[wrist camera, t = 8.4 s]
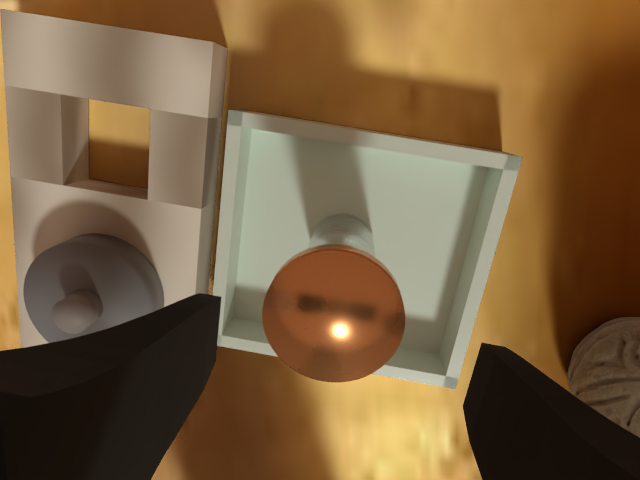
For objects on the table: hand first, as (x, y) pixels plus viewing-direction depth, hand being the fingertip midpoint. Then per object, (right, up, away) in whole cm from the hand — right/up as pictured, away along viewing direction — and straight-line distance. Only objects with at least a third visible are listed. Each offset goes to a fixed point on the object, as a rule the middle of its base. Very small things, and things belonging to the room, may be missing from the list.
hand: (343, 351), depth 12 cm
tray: (+1, +3, +10) cm, 10 cm away
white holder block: (-10, +5, +10) cm, 15 cm away
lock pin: (0, +3, +9) cm, 10 cm away
